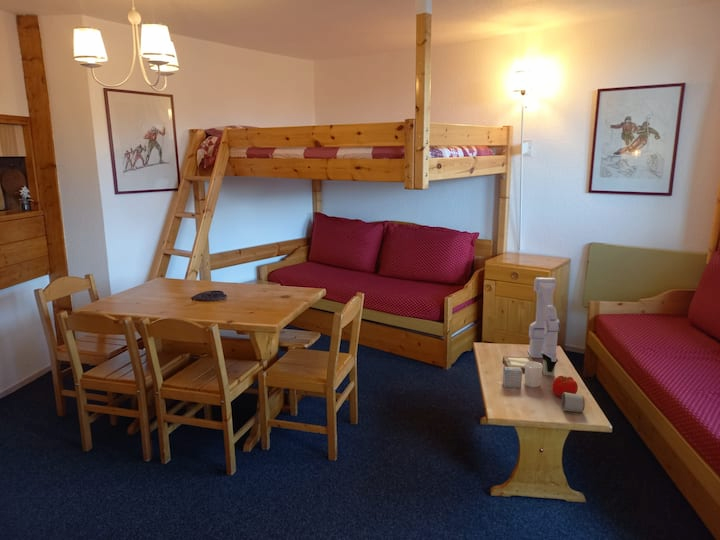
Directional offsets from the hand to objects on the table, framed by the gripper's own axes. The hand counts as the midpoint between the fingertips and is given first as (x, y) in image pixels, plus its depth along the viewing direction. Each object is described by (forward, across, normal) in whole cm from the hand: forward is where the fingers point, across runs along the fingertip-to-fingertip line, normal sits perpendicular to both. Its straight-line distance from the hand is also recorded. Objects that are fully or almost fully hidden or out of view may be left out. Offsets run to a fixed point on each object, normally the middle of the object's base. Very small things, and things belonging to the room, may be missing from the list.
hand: (548, 369), depth 254 cm
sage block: (+2, 0, 0) cm, 2 cm away
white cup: (+2, +13, -11) cm, 17 cm away
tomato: (+2, +24, 0) cm, 24 cm away
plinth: (+2, -8, -12) cm, 15 cm away
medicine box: (+2, +15, -21) cm, 26 cm away
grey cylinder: (+2, +36, -1) cm, 36 cm away
